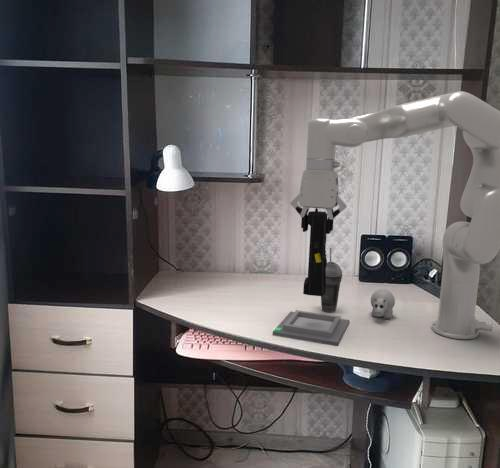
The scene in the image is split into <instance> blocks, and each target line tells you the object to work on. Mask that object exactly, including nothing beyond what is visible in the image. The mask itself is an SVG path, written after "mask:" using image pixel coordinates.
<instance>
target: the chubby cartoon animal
mask: <svg viewBox="0 0 500 468" xmlns="http://www.w3.org/2000/svg"><path fill="white" fill-rule="evenodd" d="M370 304H371V307H372V310H371V316H372V317H374V318H378V317H379V318H380V317H382V318H383V319H384V320H385V319H386V320H388V319H391V318H392V316H393V313H394V310H393V308H394V307H395V304H396V299H395V296H394V295H393V293H392V292H391V291H390V290H388V289H382V288H381V289H378V290H375V291H374V292H373V293H372V295H371V296H370Z"/></svg>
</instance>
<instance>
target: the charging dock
mask: <svg viewBox="0 0 500 468" xmlns="http://www.w3.org/2000/svg"><path fill="white" fill-rule="evenodd" d="M349 325H350V319H345V318H342V317H341V316H338V315H332V314H325V313H318V312H311V311H303V310H298V309H297V310H296V309H295V311H289V313H288V314H287V315H286V316H285V317H284V318H283V320H282V321H281V322H280V323H279V324H278V325H277V326H276V327H275V328H274V330H273V331H272V336H275V337H279V338H280V337H281V338H286V339H292V340H297V341H298V340H299V341H305V342H309V343H310V342H311V343H317V344H323V345H329V346H335V347H338V346H339V345H340V343H341V341H342V339H343V337H344V334H345V333H346V330H347V328H348V327H349Z"/></svg>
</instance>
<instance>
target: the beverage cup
mask: <svg viewBox="0 0 500 468" xmlns="http://www.w3.org/2000/svg"><path fill="white" fill-rule="evenodd" d="M342 279H343V270H342V268H341V266H339V264H337V263H336V262H333V261H332V247H329V261H327V265H326V292H325V294H324V295H323V296H320V303H321V304H320V305H321V311H322V312H324V313H330V314H331V313H336V312H337V306H338V301H339V294H340V286H341V282H342Z"/></svg>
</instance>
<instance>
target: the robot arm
mask: <svg viewBox="0 0 500 468" xmlns="http://www.w3.org/2000/svg"><path fill="white" fill-rule="evenodd" d="M450 127H456V128H459V129H460V130H461V131H462V136H463V140H464V141H465V144H467V146H468V147H469V148H470V151H471V155H472V157H473V158H472V159H473V161H472V162H473V163H472V167H471V171H470V175H469V177H468V179H467V181H466V185H465V187H464V190H463V192H462V195H461V199H460V202H459V205H460V206H459V207H460V209H461V212H462V213H463V214H464V215H465V216H466V217H469V218H471V220H470V222H469V221H456V222H454V223H451V224H450V225H449V226H448V227H447V228H446V229H445V231H444V233H443V238H442V254H443V255H442V256H443V259H442V260H443V261H442V263H443V264H442V274H441V284H440V294H439V303H438V312H437V320H435V321H433V322H431V324H430V325H431V327H430V328H431V330H432V331H433V332H434V333H436V334H438V335H440V336H443V337H447V338H451V339H454V340H455V339H456V340H472V339H476V338H478V337H479V334H480V331H484V332H491V333H492V332H493V331H492V330H493V324H489V323H487V322H486V321H479V320H477V318H476V307H477V299H478V298H477V297H478V292H479V291H478V289H479V288H478V287H479V281H480V272H481V271H480V270H481V267H480V265H484V264H487V263H489V262H491V261H492V260H493V259H495V257H496V256H497V255H498V253H499V252H500V110H499V109H497V108H496V107H494V106H492V105H490V104H489V103H487V102H485V101H484V100H483V99H480V98H479V97H477V96H475V95H473V94H471V93H469V92H466V91H463V90H461V91H460V90H459V91H454V92H448V93H445V94H441V95H437V96H432V97H428V98H424V99H418V100H414V101H410V102H406V103H405V102H404V103H402V104H398V105H394V106H391V107H388V108H385V109H382V110H380V111H376V112H371V113H367V114H364V115H359V116H354V117H349V118H343V119H333V118H323V117H321V118H311V119H309V121H308V123H307V139H306V157H305V158H306V161H305V170H303V172H302V175H301V180H300V185H299V193H298V194H297V196H296V197H295V198H294V199H292V201H290V205H291V207H293V209H295V211H296V212H297V213H298V214H299V215H300V217H301V223H300V226H301V229H302V232H303V233H305V232H307V231H308V230H309V224H307V217H308V213H309V212H310V211H309V210H310V209H311V208H312V209H316V208H317V209H323V210H326V213H327V214H328V216H327V226H326V233H327V234H326V235H329V234H331V232H332V231H333V230H334V221H335V220H334V219H335V218H336V217H337V216H338V215H339V214H341V213H342V212H343V211H345V209H346V208H347V204H346V203H345V202H344V201H343V200H342V198H341V197H340V195H339V174H338V171H335V170H336V169H337V168H340V167H341V162H339V161H336V159H335V158H336V146H339V147H343V148H357V147H360V146H362V145H363V144H364V143H369V142H374V141H379V140H386V139H400V138H407V137H410V136H414V135H419V134H423V133H427V132H432V131H436V130H441V129H446V128H450ZM337 206H339V207H337ZM336 207H337V209H335V210H334V208H336Z"/></svg>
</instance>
